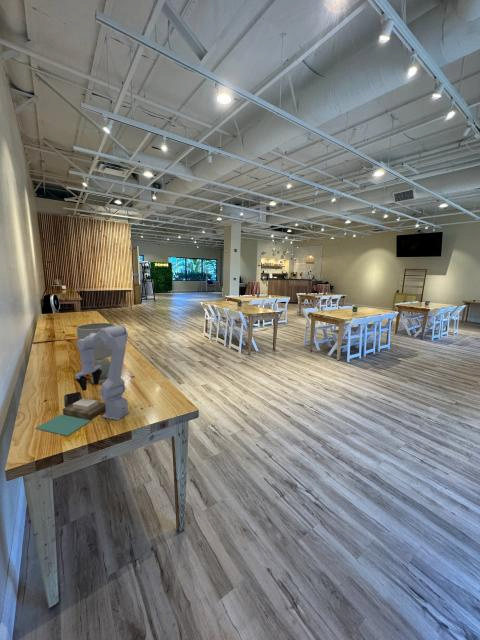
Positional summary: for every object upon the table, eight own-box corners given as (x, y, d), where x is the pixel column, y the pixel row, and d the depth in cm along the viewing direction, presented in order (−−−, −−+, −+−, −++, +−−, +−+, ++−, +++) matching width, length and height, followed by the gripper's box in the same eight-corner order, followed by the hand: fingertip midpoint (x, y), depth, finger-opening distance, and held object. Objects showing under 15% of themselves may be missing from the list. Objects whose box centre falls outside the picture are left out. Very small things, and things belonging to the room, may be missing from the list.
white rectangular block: (97, 404, 131) (97, 400, 131) (87, 410, 125) (87, 406, 125) (83, 401, 134) (83, 398, 133) (73, 407, 128) (72, 403, 128)
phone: (64, 406, 134) (64, 394, 146) (64, 408, 134) (64, 396, 146) (82, 402, 138) (80, 391, 151) (82, 404, 138) (81, 393, 151)
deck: (108, 408, 133) (107, 403, 133) (90, 420, 123) (89, 414, 122) (82, 404, 137) (82, 398, 137) (63, 414, 127) (62, 408, 127)
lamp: (105, 372, 181) (101, 321, 175) (124, 378, 171) (121, 324, 165) (75, 382, 164) (69, 326, 158) (94, 390, 154) (89, 330, 148)
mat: (91, 421, 122) (90, 420, 122) (67, 436, 111) (67, 435, 111) (60, 414, 127) (60, 414, 127) (35, 428, 116) (35, 428, 116)
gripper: (92, 356, 142) (95, 380, 144) (68, 365, 128) (71, 391, 130) (103, 357, 140) (105, 382, 142) (80, 366, 126) (83, 393, 128)
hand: (90, 387), depth 136 cm, fingers open, 7 cm apart
